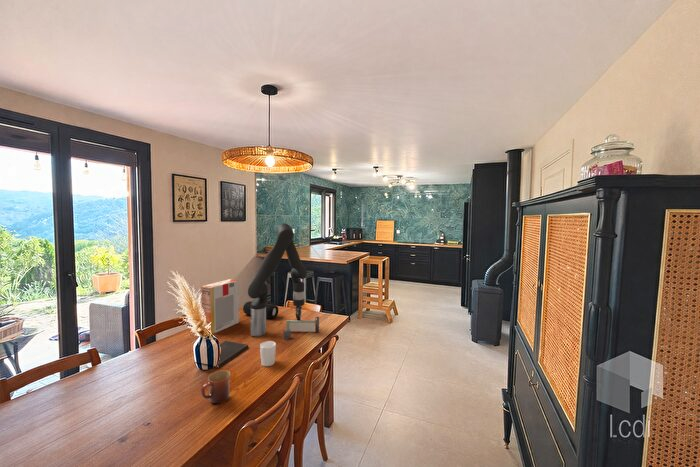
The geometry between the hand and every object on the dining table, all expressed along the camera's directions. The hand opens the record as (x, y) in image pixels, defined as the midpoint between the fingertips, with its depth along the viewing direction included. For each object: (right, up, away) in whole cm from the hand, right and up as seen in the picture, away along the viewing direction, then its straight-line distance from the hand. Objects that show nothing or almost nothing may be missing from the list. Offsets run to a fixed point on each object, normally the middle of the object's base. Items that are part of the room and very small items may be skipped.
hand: (298, 323), depth 191 cm
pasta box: (-52, -4, +2) cm, 53 cm away
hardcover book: (-35, -7, -34) cm, 50 cm away
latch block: (-5, -5, -13) cm, 15 cm away
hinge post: (+13, -5, -3) cm, 14 cm away
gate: (+2, -4, -3) cm, 6 cm away
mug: (-21, -10, -73) cm, 77 cm away
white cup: (-8, -8, -42) cm, 44 cm away
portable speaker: (-33, -3, +24) cm, 41 cm away
